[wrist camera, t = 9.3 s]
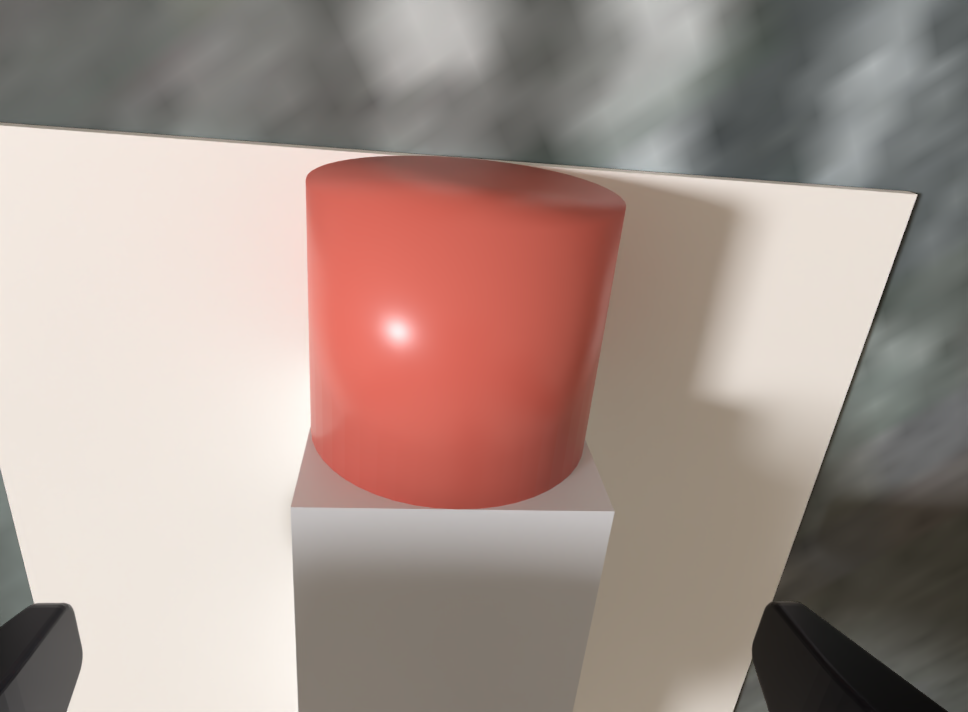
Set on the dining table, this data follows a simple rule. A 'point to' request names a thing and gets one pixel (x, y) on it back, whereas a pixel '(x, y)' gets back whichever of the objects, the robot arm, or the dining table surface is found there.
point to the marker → (450, 435)
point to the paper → (286, 414)
